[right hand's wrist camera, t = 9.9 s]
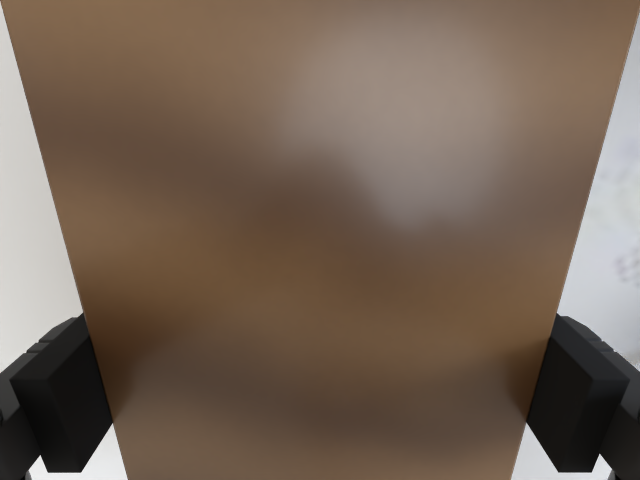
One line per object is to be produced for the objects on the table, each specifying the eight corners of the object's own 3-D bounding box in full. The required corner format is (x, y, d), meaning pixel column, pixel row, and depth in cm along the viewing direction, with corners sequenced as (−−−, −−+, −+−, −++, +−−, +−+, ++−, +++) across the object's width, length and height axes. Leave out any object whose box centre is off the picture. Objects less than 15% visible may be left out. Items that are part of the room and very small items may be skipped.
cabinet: (168, -148, 12) (-219, -801, 4) (474, -147, 12) (866, -793, 4) (220, 322, 19) (134, 507, 10) (418, 323, 19) (504, 508, 10)
